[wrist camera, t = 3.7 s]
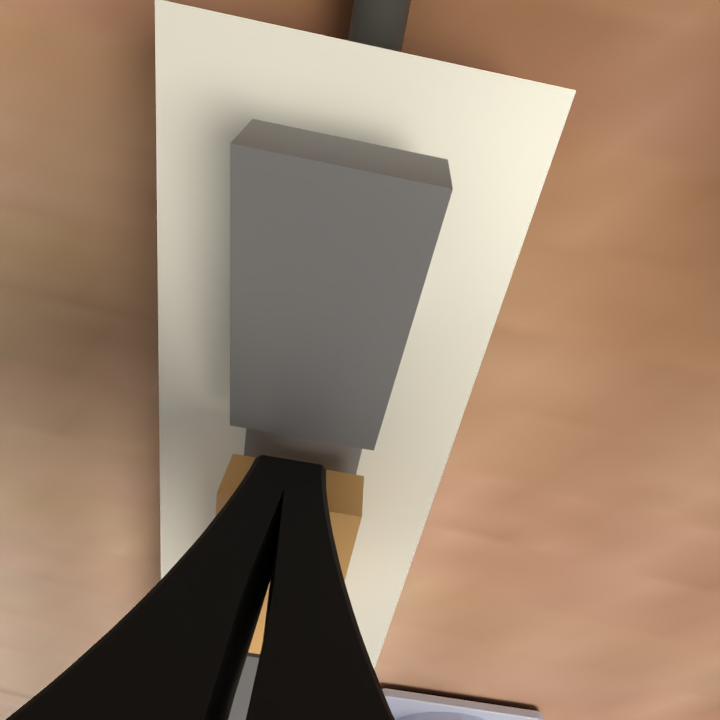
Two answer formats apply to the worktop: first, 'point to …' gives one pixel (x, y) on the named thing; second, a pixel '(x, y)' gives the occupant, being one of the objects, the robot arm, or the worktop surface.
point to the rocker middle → (342, 510)
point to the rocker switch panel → (441, 288)
